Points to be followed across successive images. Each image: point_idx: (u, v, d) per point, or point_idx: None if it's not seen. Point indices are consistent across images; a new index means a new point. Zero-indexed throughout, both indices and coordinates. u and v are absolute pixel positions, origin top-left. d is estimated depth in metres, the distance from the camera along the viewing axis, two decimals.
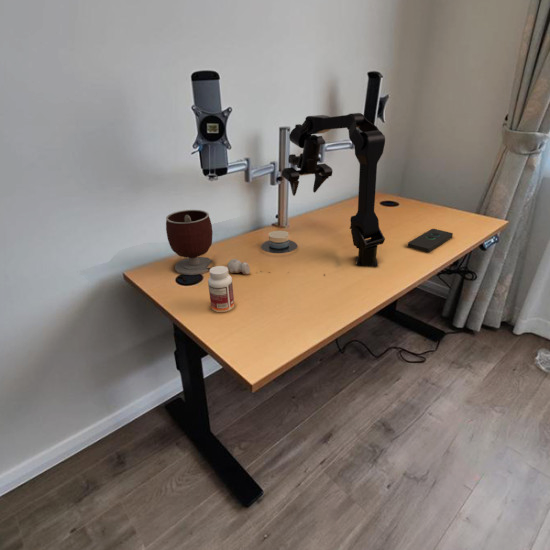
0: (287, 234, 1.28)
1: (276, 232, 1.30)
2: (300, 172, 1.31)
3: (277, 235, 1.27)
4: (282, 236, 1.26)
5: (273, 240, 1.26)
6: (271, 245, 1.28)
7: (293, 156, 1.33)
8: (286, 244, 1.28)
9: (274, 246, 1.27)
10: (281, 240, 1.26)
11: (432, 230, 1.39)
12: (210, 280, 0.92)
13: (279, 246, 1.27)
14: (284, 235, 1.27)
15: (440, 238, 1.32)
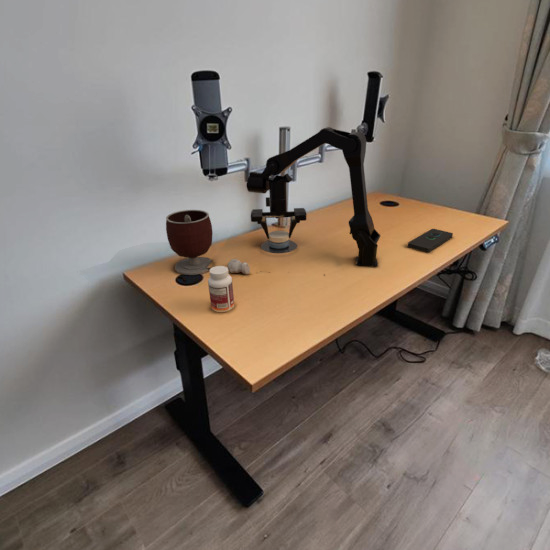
0: (287, 234, 1.28)
1: (276, 232, 1.30)
2: (268, 214, 1.25)
3: (277, 235, 1.27)
4: (282, 236, 1.26)
5: (273, 240, 1.26)
6: (271, 245, 1.28)
7: (267, 199, 1.28)
8: (286, 244, 1.28)
9: (274, 246, 1.27)
10: (281, 240, 1.26)
11: (432, 230, 1.39)
12: (210, 280, 0.92)
13: (279, 246, 1.27)
14: (284, 235, 1.27)
15: (440, 238, 1.32)
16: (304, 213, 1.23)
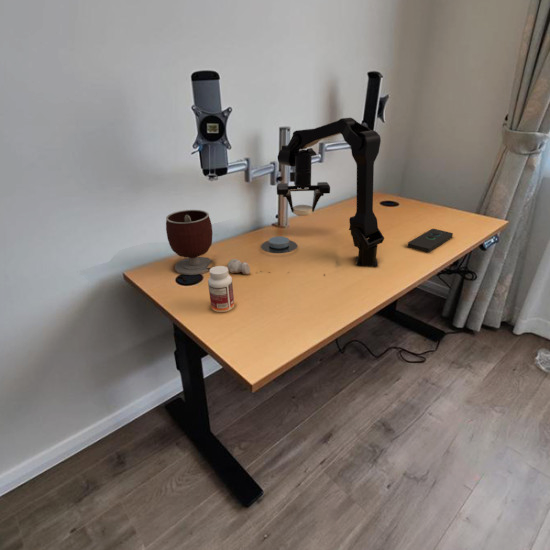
0: (311, 207, 1.34)
1: (300, 206, 1.35)
2: (293, 187, 1.30)
3: (302, 208, 1.33)
4: (306, 209, 1.32)
5: (297, 213, 1.32)
6: (271, 245, 1.28)
7: (292, 174, 1.34)
8: (286, 244, 1.28)
9: (274, 246, 1.27)
10: (305, 213, 1.31)
11: (432, 230, 1.39)
12: (210, 280, 0.92)
13: (279, 246, 1.27)
14: (308, 208, 1.33)
15: (440, 238, 1.32)
16: (328, 186, 1.28)
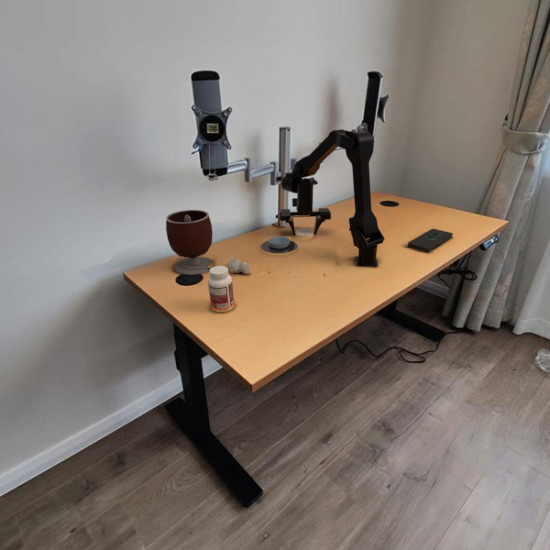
0: (312, 232, 1.39)
1: (302, 230, 1.41)
2: (295, 213, 1.35)
3: (303, 233, 1.38)
4: (308, 234, 1.37)
5: (300, 237, 1.37)
6: (271, 245, 1.28)
7: (294, 199, 1.39)
8: (286, 244, 1.28)
9: (274, 246, 1.27)
10: (307, 237, 1.37)
11: (432, 230, 1.39)
12: (210, 280, 0.92)
13: (279, 246, 1.27)
14: (310, 233, 1.38)
15: (440, 238, 1.32)
16: (329, 213, 1.33)
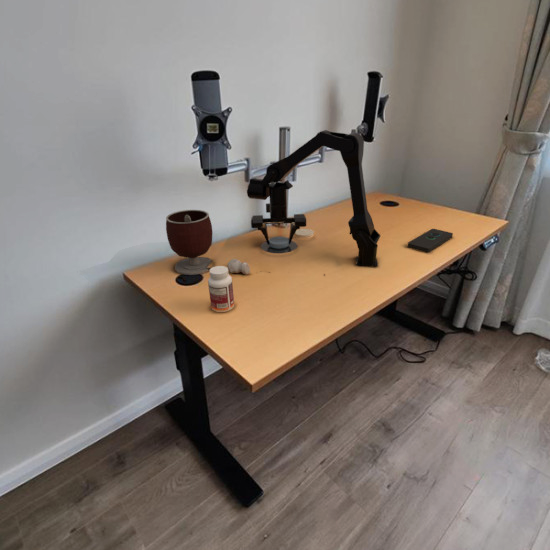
0: (312, 232, 1.39)
1: (302, 230, 1.41)
2: (268, 220, 1.26)
3: (303, 233, 1.38)
4: (308, 234, 1.37)
5: (300, 237, 1.37)
6: (271, 245, 1.28)
7: (268, 205, 1.29)
8: (286, 244, 1.28)
9: (274, 246, 1.27)
10: (307, 237, 1.37)
11: (432, 230, 1.39)
12: (210, 280, 0.92)
13: (279, 246, 1.27)
14: (310, 233, 1.38)
15: (440, 238, 1.32)
16: (304, 219, 1.24)
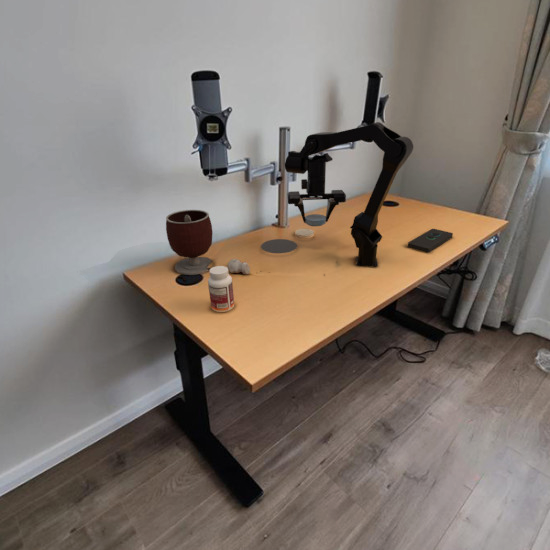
0: (312, 232, 1.39)
1: (302, 230, 1.41)
2: (305, 196, 1.20)
3: (303, 233, 1.38)
4: (308, 234, 1.37)
5: (300, 237, 1.37)
6: (308, 222, 1.22)
7: (304, 181, 1.23)
8: (324, 221, 1.22)
9: (311, 223, 1.21)
10: (307, 237, 1.37)
11: (432, 230, 1.39)
12: (210, 280, 0.92)
13: (316, 223, 1.21)
14: (310, 233, 1.38)
15: (440, 238, 1.32)
16: (344, 194, 1.18)
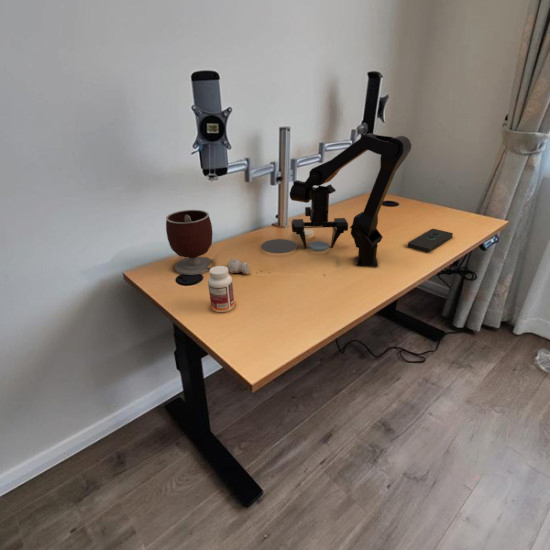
0: (312, 232, 1.39)
1: None
2: (309, 224, 1.24)
3: None
4: (308, 234, 1.37)
5: (300, 237, 1.37)
6: None
7: (307, 208, 1.28)
8: (326, 249, 1.26)
9: None
10: (307, 237, 1.37)
11: (432, 230, 1.39)
12: (210, 280, 0.92)
13: (320, 251, 1.25)
14: (310, 233, 1.38)
15: (440, 238, 1.32)
16: (346, 223, 1.22)
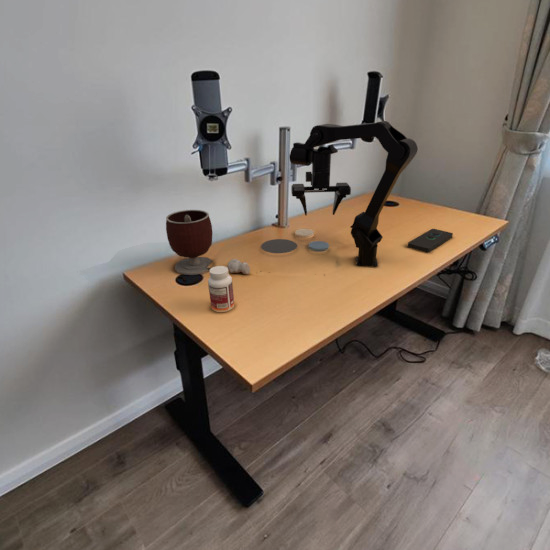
0: (312, 232, 1.39)
1: (302, 230, 1.41)
2: (309, 188, 1.18)
3: (303, 233, 1.38)
4: (308, 234, 1.37)
5: (300, 237, 1.37)
6: None
7: (308, 173, 1.22)
8: (326, 249, 1.26)
9: None
10: (307, 237, 1.37)
11: (432, 230, 1.39)
12: (210, 280, 0.92)
13: (320, 251, 1.25)
14: (310, 233, 1.38)
15: (440, 238, 1.32)
16: (348, 187, 1.16)
